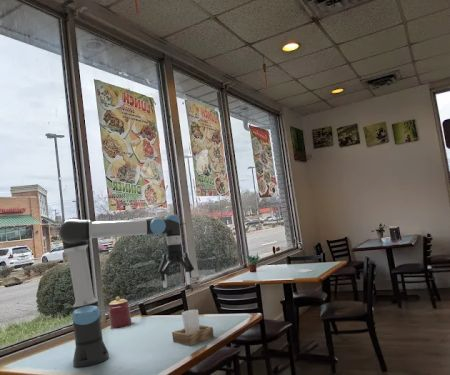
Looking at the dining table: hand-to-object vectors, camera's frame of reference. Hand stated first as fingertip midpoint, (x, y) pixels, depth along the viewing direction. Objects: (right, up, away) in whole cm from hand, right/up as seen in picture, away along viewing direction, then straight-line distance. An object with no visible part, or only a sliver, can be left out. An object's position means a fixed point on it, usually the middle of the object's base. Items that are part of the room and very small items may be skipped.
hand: (177, 286), depth 208 cm
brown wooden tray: (+10, -21, -16) cm, 28 cm away
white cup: (+9, -19, -15) cm, 26 cm away
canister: (-40, -35, +42) cm, 68 cm away
